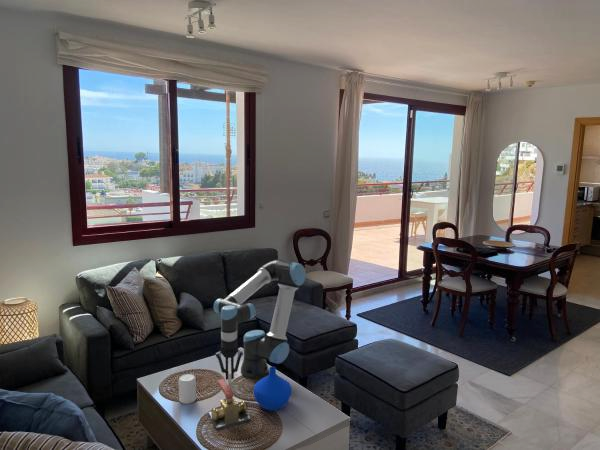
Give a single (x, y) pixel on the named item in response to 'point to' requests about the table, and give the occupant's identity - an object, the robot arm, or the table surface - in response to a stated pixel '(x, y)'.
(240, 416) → the valve fixture
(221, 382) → the lever
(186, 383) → the white cylindrical piece
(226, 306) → the robot arm
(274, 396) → the vase
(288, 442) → the table surface
